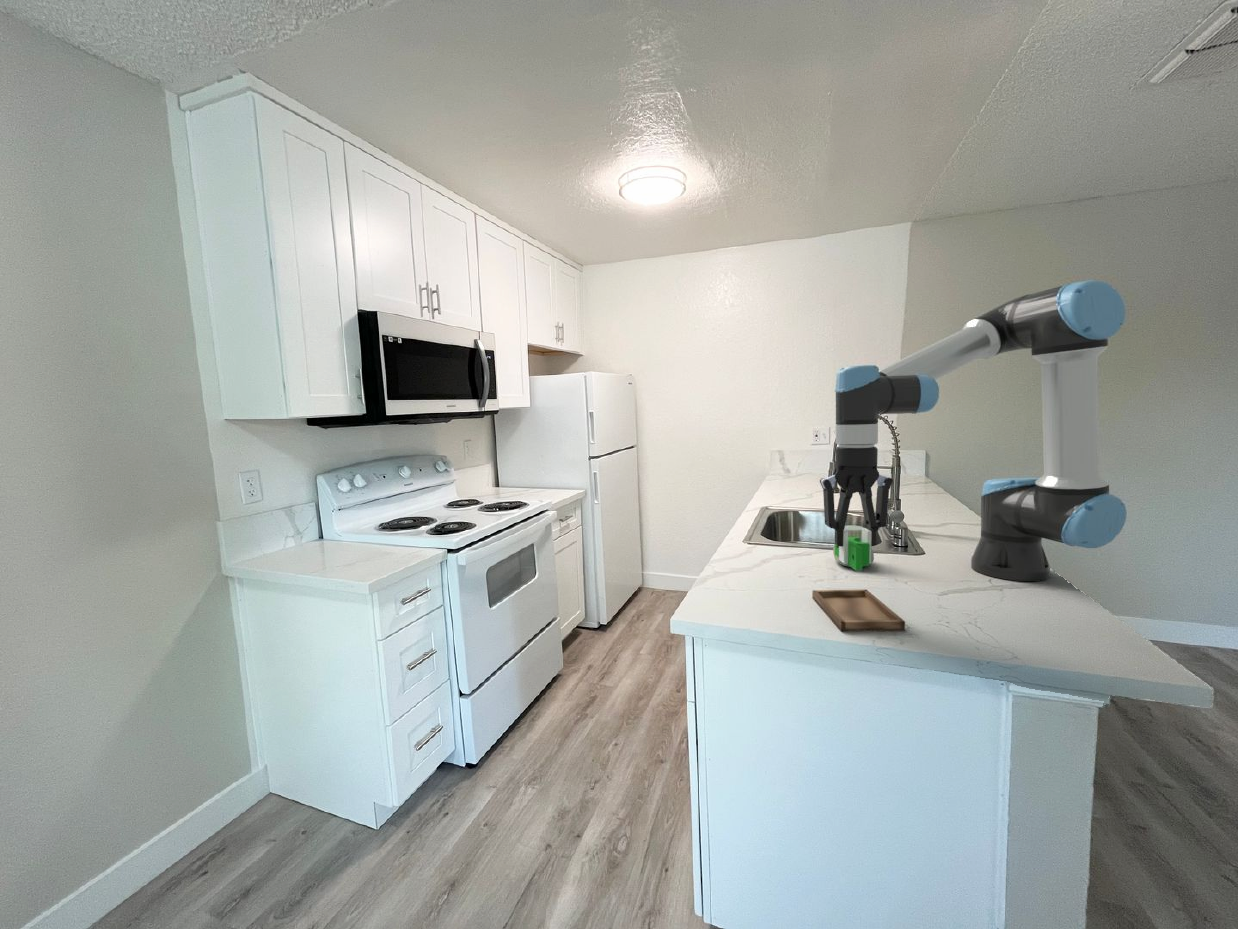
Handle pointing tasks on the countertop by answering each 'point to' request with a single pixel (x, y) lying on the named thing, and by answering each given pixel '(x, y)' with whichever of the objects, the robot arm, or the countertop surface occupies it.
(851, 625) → the tray
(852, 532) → the air freshener
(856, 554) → the pipe clamp
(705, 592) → the countertop surface
